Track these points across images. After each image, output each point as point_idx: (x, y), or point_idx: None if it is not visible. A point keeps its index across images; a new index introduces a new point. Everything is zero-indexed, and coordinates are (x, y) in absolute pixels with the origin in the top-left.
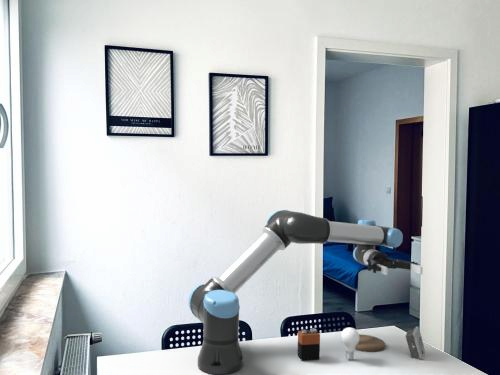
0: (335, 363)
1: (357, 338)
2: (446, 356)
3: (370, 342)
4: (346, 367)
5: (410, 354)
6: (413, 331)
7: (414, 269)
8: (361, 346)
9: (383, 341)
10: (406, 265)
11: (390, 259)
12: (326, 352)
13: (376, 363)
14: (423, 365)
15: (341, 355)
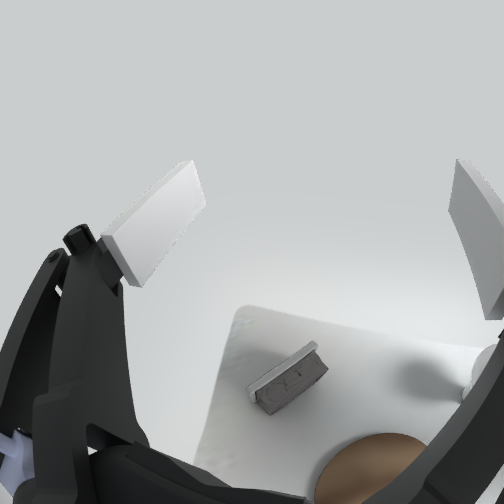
0: None
1: (484, 349)
2: (227, 362)
3: (368, 479)
4: None
5: (317, 380)
6: (284, 378)
7: (164, 229)
8: (414, 454)
9: (321, 478)
10: (104, 297)
11: (70, 478)
12: None
13: (420, 371)
14: (320, 342)
15: None
